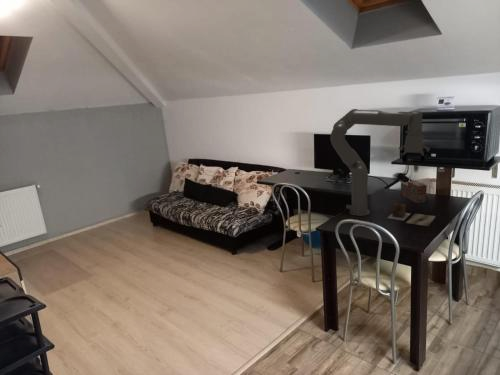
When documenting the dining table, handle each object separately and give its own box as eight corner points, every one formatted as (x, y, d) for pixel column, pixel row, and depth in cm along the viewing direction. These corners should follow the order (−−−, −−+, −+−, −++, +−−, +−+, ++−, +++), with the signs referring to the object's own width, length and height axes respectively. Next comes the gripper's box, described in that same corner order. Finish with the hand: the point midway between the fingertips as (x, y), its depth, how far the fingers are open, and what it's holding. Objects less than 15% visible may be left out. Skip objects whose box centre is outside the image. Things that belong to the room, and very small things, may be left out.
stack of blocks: (400, 195, 274) (400, 178, 271) (408, 194, 275) (409, 177, 272) (417, 203, 254) (417, 185, 250) (426, 202, 254) (426, 184, 251)
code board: (405, 222, 222) (405, 222, 222) (414, 213, 236) (414, 213, 236) (428, 226, 215) (428, 226, 215) (435, 216, 228) (435, 216, 228)
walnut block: (392, 216, 233) (392, 205, 232) (395, 213, 238) (395, 202, 236) (402, 217, 230) (402, 206, 228) (405, 214, 234) (405, 204, 232)
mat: (386, 218, 232) (386, 218, 232) (394, 211, 242) (394, 211, 242) (403, 220, 225) (403, 220, 225) (410, 213, 236) (410, 213, 236)
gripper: (397, 133, 227) (396, 161, 232) (428, 134, 217) (427, 163, 221) (401, 131, 233) (400, 159, 237) (432, 132, 222) (430, 161, 227)
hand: (413, 161), depth 229 cm, fingers open, 9 cm apart
